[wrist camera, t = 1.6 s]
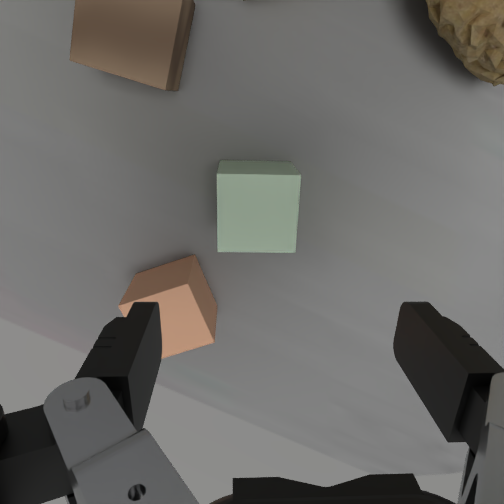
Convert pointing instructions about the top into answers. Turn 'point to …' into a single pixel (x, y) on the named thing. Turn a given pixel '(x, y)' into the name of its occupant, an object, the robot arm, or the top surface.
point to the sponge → (473, 34)
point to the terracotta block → (177, 303)
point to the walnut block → (133, 38)
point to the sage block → (257, 206)
